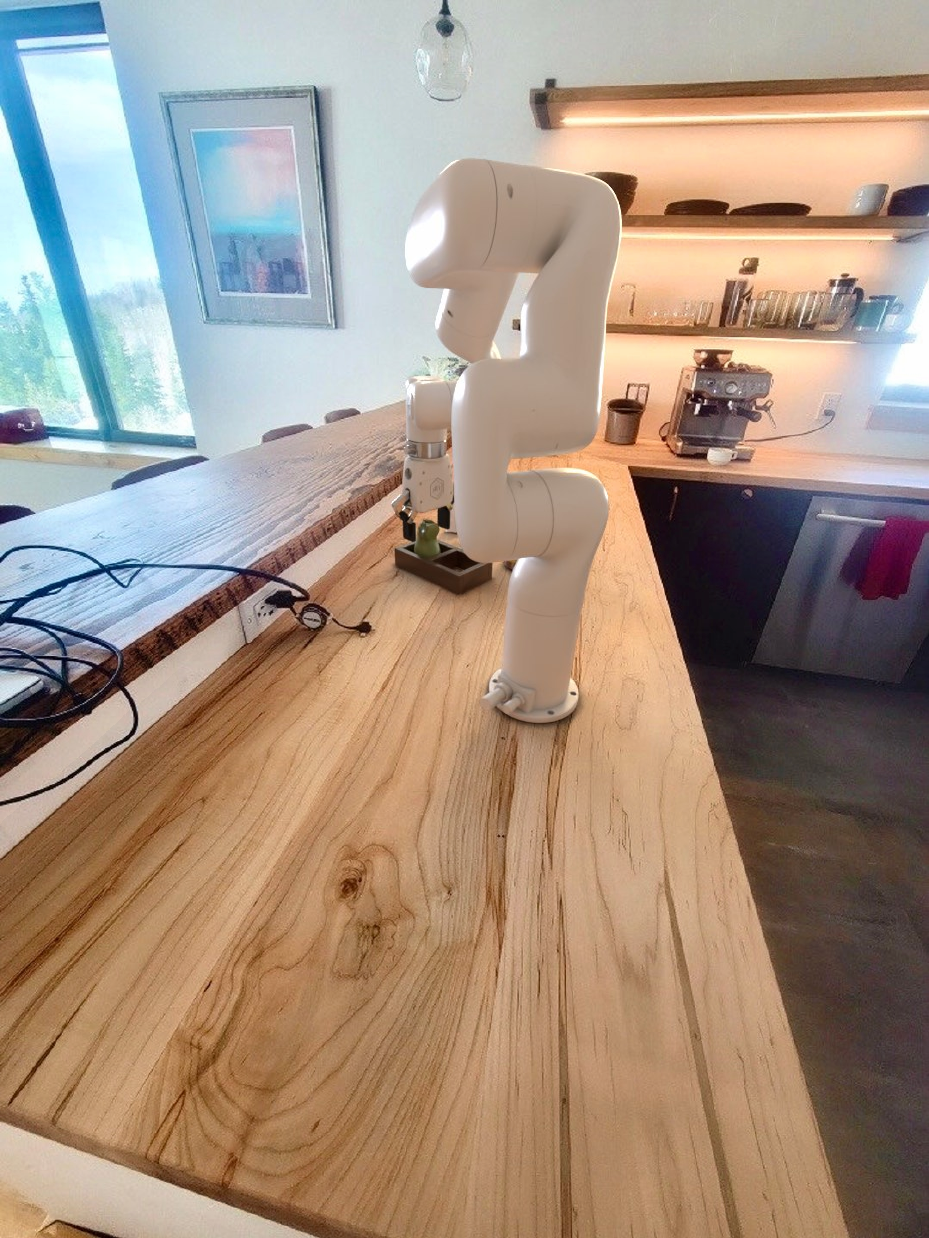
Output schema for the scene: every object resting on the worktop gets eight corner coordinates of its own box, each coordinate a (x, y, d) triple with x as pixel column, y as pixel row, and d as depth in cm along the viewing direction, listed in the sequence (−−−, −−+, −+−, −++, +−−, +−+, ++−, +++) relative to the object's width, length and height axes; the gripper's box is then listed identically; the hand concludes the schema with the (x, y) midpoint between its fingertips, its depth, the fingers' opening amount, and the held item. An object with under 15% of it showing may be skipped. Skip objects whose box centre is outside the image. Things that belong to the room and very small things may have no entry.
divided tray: (458, 595, 96) (459, 576, 94) (395, 565, 107) (394, 547, 105) (491, 579, 103) (492, 561, 101) (428, 552, 113) (428, 535, 111)
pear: (427, 558, 110) (427, 514, 105) (445, 565, 108) (446, 520, 103) (409, 566, 107) (408, 521, 102) (428, 573, 104) (427, 527, 99)
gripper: (405, 460, 87) (408, 550, 96) (471, 445, 98) (468, 528, 107) (378, 452, 91) (382, 539, 100) (444, 438, 102) (443, 518, 111)
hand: (427, 533), depth 104 cm, fingers open, 9 cm apart
